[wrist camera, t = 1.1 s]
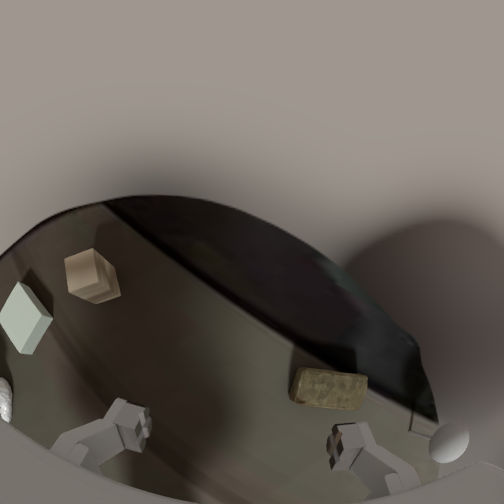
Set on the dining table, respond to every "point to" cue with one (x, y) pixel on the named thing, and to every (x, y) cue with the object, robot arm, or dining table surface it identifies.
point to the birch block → (91, 277)
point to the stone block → (328, 389)
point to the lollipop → (447, 441)
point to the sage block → (24, 319)
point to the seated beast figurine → (5, 400)
